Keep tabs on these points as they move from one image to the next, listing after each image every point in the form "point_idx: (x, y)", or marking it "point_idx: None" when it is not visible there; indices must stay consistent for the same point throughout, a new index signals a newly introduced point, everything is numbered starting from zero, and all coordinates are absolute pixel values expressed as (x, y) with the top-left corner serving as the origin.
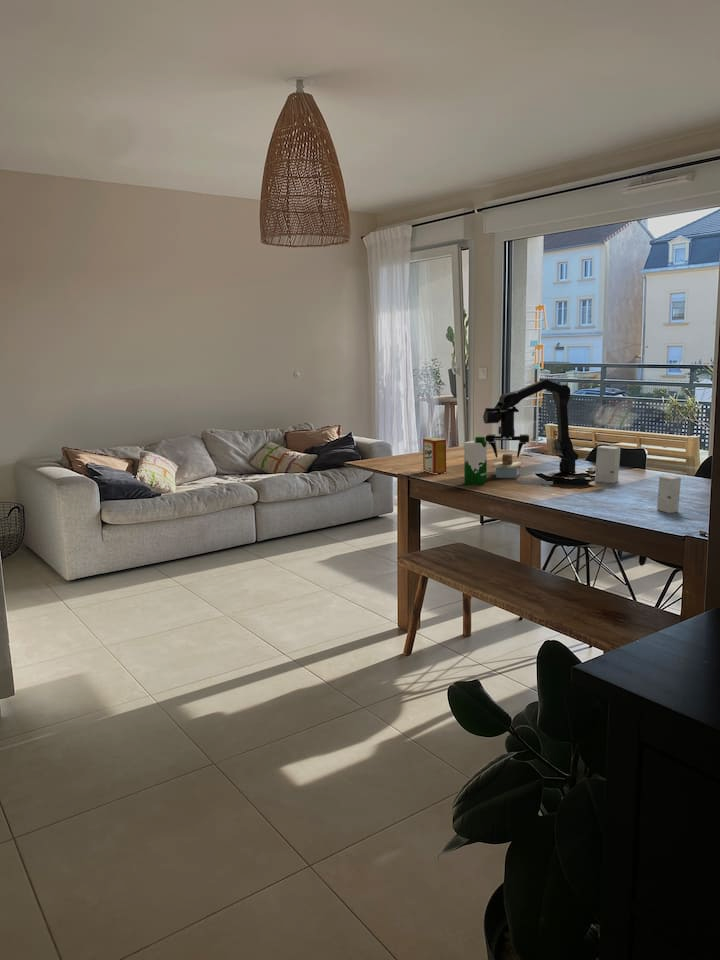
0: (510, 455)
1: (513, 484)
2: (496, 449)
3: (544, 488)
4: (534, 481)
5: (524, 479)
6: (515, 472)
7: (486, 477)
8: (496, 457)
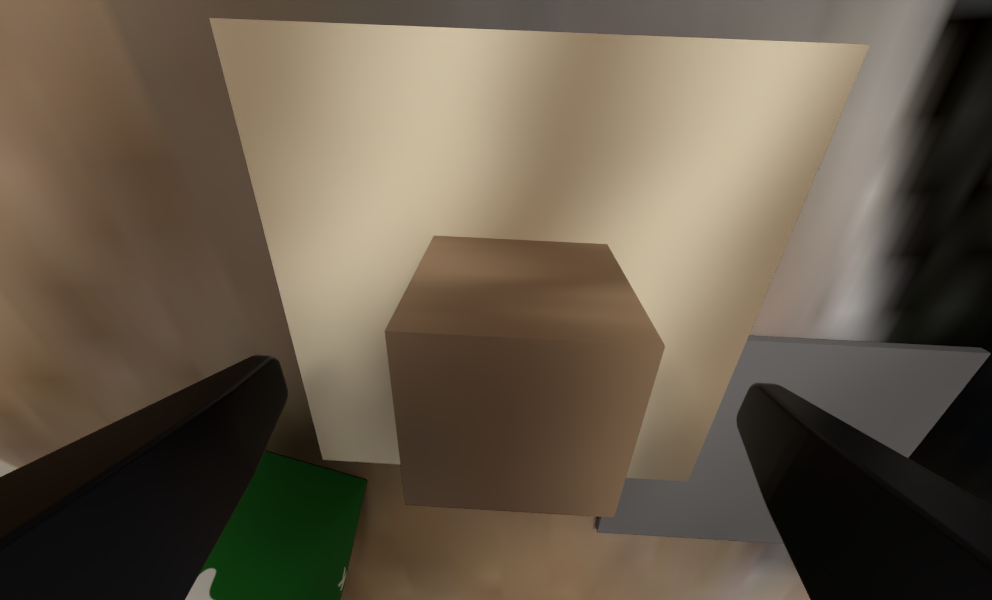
0: (588, 494)
1: (563, 517)
2: (107, 590)
3: (742, 593)
4: (739, 473)
5: None
6: None
7: (354, 535)
8: (274, 396)
